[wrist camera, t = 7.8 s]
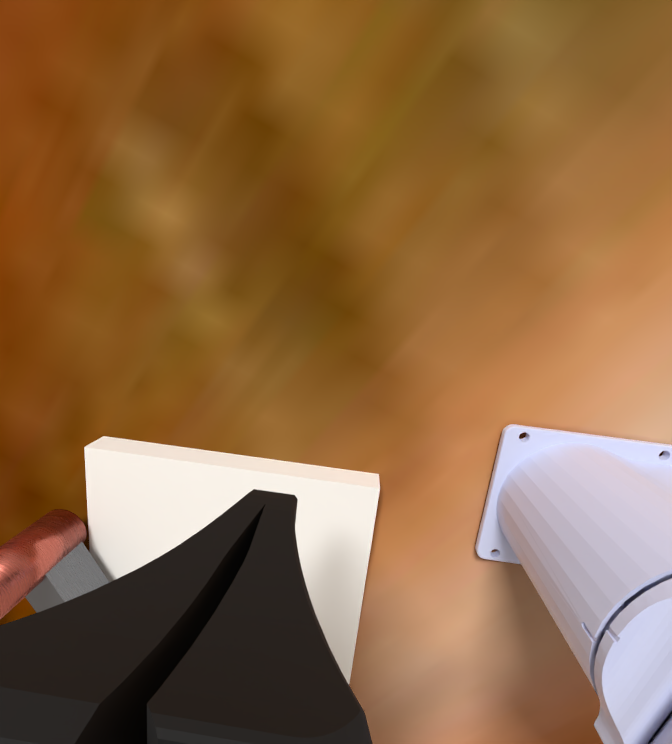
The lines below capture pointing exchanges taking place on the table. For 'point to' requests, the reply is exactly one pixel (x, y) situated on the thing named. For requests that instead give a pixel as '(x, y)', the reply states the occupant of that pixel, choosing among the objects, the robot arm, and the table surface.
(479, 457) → the table surface
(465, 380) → the table surface
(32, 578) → the lever
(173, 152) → the table surface
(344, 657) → the white flat block
